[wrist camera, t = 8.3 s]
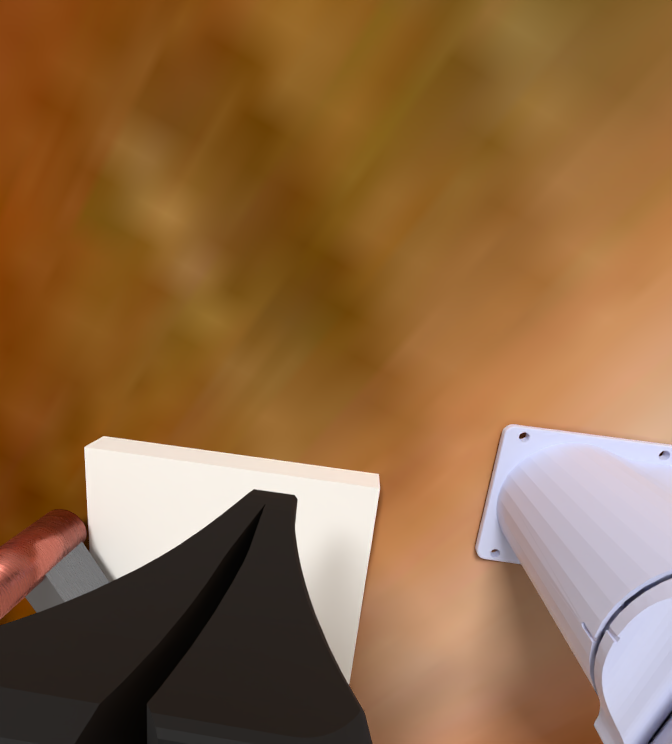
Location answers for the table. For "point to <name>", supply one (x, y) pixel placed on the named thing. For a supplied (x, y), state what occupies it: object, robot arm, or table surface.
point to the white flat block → (215, 496)
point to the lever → (48, 563)
